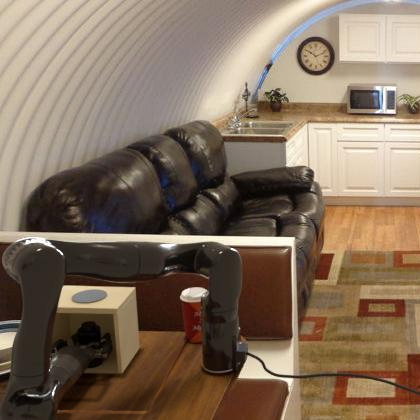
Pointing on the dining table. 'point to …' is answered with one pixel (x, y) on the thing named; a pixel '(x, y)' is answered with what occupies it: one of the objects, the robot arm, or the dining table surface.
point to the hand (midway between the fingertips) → (93, 335)
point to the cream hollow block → (101, 320)
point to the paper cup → (192, 313)
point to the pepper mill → (90, 338)
